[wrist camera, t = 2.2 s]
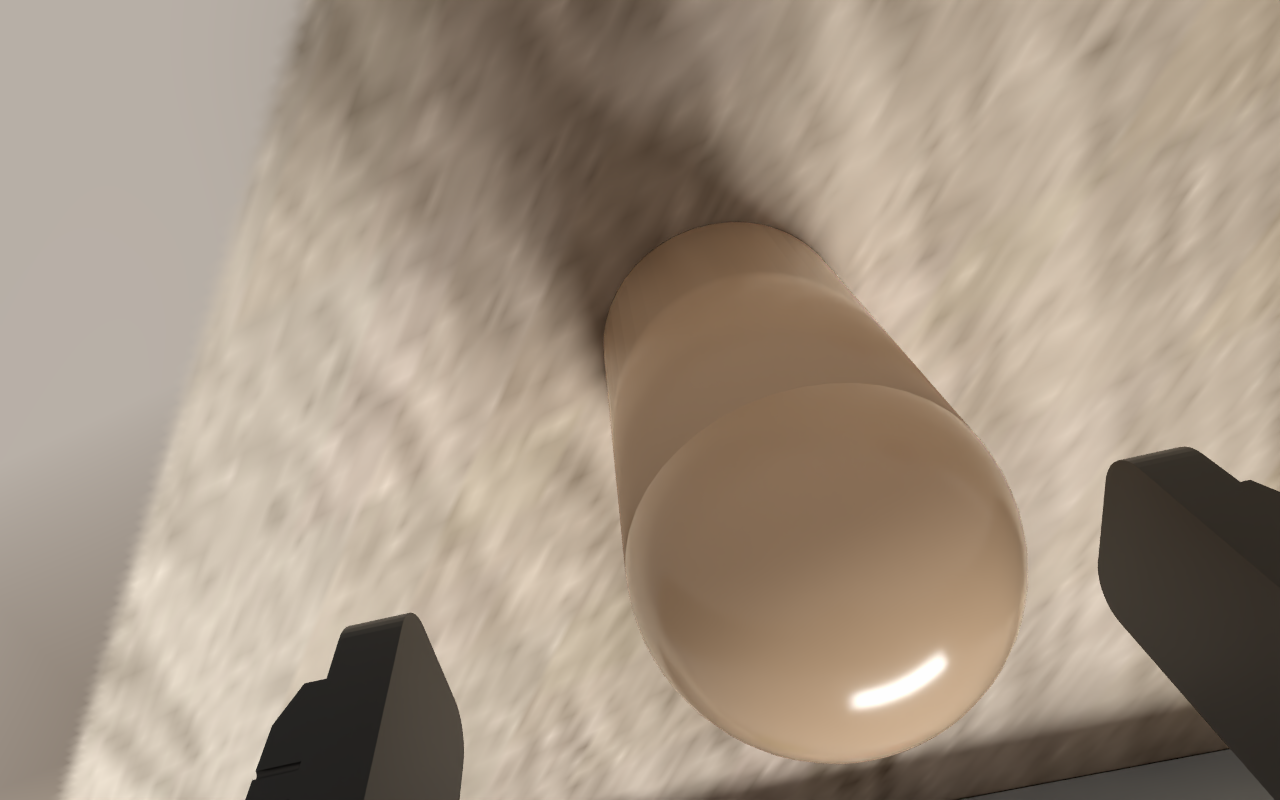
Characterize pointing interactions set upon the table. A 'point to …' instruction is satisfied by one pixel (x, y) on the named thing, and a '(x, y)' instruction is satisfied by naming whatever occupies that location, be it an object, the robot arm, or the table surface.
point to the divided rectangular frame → (1154, 783)
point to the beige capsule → (801, 505)
